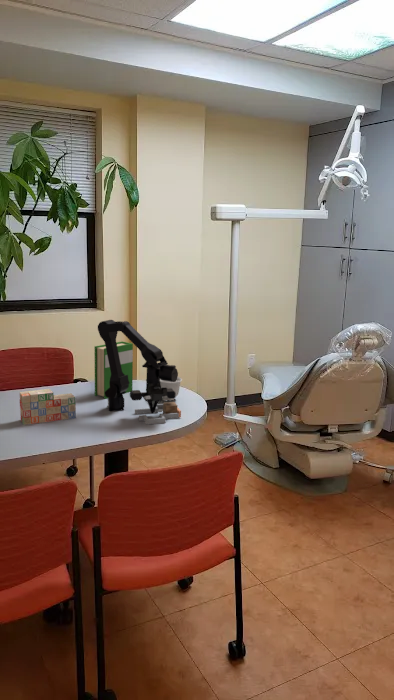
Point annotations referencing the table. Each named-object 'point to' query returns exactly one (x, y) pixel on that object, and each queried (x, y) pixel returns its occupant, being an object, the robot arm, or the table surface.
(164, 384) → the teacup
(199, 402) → the table surface
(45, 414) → the stack of blocks
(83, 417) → the table surface
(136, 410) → the trap lane
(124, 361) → the hardback book
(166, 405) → the walnut block
